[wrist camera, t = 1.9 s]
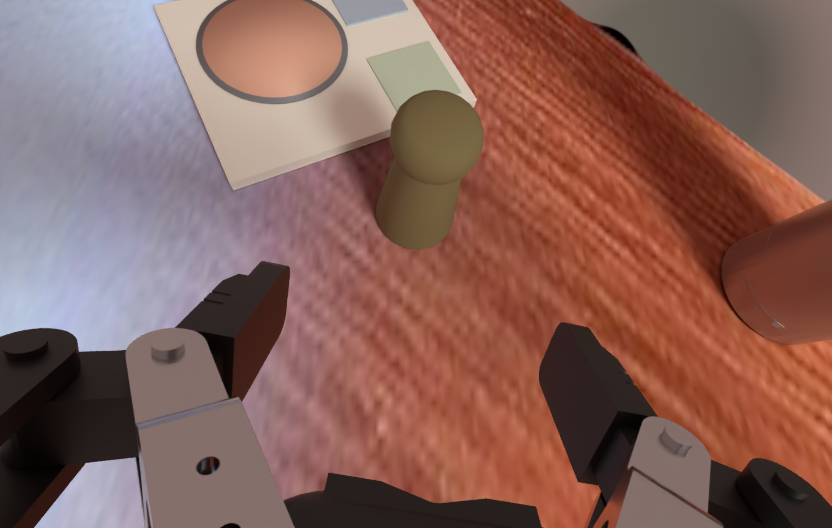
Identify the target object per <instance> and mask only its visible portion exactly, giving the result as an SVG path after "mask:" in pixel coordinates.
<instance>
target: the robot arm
mask: <svg viewBox="0 0 832 528" xmlns="http://www.w3.org/2000/svg"><path fill="white" fill-rule="evenodd" d="M721 270H722V282H723V286H724V290H725V292H726V295H727V297H728V299H729V302H730V303H731V305H732V306H733V308H734V310H735V311H736V313H737V314H738V315H739V316H740V317H741V318H742V320H743V321H744V322H745V323H746V324H747V325H748V326H750V327H751V328H752V329H753V330H754V331H756V332H757V333H759V334H760V335H762V336H764V337H765V338H767V339H770V340H772V341H775V342H777V343H782V344H788V345H794V344H804V343H811V342H818V341H825V340H832V199H831V200H829V201H827V202H824V203H822V204H820V205H817V206H815V207H813V208H811V209H808V210H806V211H804V212H801V213H799V214H797V215H795V216H792V217H790V218H787V219H785V220H783V221H780V222H778V223H776V224H774V225H771V226H769V227H767V228H765V229H762V230H760V231H758V232H756V233H753V234H751V235H749V236H746V237H744V238H742V239H740V240H738V241H736V242H735V243H733V244H732V245H731V246H730V247H729V248H728V250H727V252H726V253H725V255H724V257H723V262H722V267H721ZM289 279H290V268H289V266H285V265H280V264H275V263H270V262H265V261H261V262H260V263H259V264H258V265H257V266H256V268H255V269H254V270H253V271H252V272H251V273H250V274H249V275H248V276H247V275H242V274H237V275H235V276H232V277H230V278H228V279H225V280H223V281H222V282H221V283H220V284H219V285H218V286H217V287H216V288H215V289H214V290H213V291H212V293H210V294H209V295H208V296H207V297H206V298H204V301H201V302H200V303H199V304H198V305H197V306H196V307H195V308H194V309H193V310H192V311H191V312H190V313H189V314H188V315H187V316H186V317H185V318H184V319H183V320H182V321H181V322H180V323H179V324H178V325H177V326H176V327H175V328H168V329H161V330H156V331H152V332H149V333H147V334H144V335H142V336H140V337H138V338H137V339H136V340H134V341H133V342H132V343H131V344H130V345H129V346H128V348H127V350H121V351H89V352H79V350H78V343H77V339H76V337H75V336H74V335H73V334H71V333H69V332H67V331H64V330H59V329H52V328H38V329H29V330H23V331H18V332H14V333H11V334H7V335H4V336H2V337H0V528H34V527H35V526H36V524H37V523H38V522H39V521H40V520H41V518H42V517H43V516H44V515H45V513H46V512H47V511H48V510H49V508H50V507H51V506H52V505H53V503H54V502H55V501H56V500H57V498H58V497H59V496H60V495H61V493H62V492H63V491H64V490H65V488H66V487H67V486H68V485H69V483H70V482H71V481H72V480H73V478H74V477H75V476H76V475H77V473H78V472H79V471H80V470H81V468H82V467H83V466H84V465H85V463H89V462H98V461H107V460H115V459H124V458H133V457H135V462H136V469H137V476H138V483H139V491H140V498H141V505H142V513H143V520H144V527H145V528H543V527H541V524H540V520H539V516H538V512H537V509H536V507H535V506H529V505H523V504H516V503H510V502H504V501H498V500H492V499H478V500H468V501H458V502H448V503H432V502H429V501H427V500H424V499H422V498H420V497H417V496H415V495H413V494H410V493H408V492H405V491H403V490H401V489H398V488H396V487H394V486H391V485H389V484H386V483H384V482H382V481H376V480H370V479H364V478H358V477H352V476H346V475H340V474H334V473H328V478H327V482H326V486H325V490H324V491H315V492H310V493H305V494H300V495H297V496H295V497H292V498H289V499H286V500H284V501H283V499H282V497H281V494H280V492H279V489H278V487H277V485H276V482H275V480H274V477H273V475H272V473H271V470H270V468H269V466H268V463H267V461H266V458H265V456H264V454H263V451H262V449H261V447H260V444H259V442H258V439H257V437H256V435H255V432H254V430H253V427H252V425H251V423H250V420H249V418H248V416H247V413H246V411H245V408H244V406H243V404H242V401H243V399H244V397H245V396H246V394H247V392H248V390H249V388H250V387H251V385H252V383H253V381H254V380H255V378H256V376H257V374H258V373H259V371H260V369H261V367H262V365H263V364H264V362H265V360H266V358H267V357H268V355H269V353H270V351H271V349H272V348H273V346H274V344H275V342H276V341H277V339H278V337H279V335H280V333H281V331H282V328H283V325H284V321H285V316H286V308H287V298H288V288H289ZM539 382H540V386H541V388H542V391H543V394H544V396H545V399H546V401H547V404H548V406H549V409H550V411H551V414H552V417H553V419H554V422H555V424H556V427H557V429H558V432H559V434H560V437H561V440H562V442H563V445H564V447H565V450H566V452H567V455H568V457H569V460H570V463H571V465H572V468H573V470H574V473H575V475H576V478H577V480H578V482H581V483H587V484H593V485H599V487H600V490H601V491H600V493H599V494H598V496H597V498H596V499H595V501H594V504H593V506H592V509H591V511H590V514H589V517H588V519H587V522H586V524H585V527H584V528H832V506H831V505H830V504H829V503H828V502H827V501H826V500H825V499H824V498H823V497H822V496H821V494H820V493H819V492H818V491H817V490H816V489H815V488H813V487H812V486H811V485H810V484H809V483H808V482H806V481H805V480H804V479H803V478H801V477H800V476H798V475H797V474H795V473H794V472H792V471H791V470H789V469H787V468H785V467H783V466H781V465H779V464H777V463H775V462H772V461H770V460H766V459H761V458H755V459H752V460H751V461H750V462H749V463H748V465H747V466H746V467H745V468H744V470H743V471H742V472H740V471H737V470H735V469H733V468H730V467H728V466H725V465H723V464H720V463H718V462H715V461H713V460H711V458H710V455H709V453H708V451H707V449H706V448H705V447H704V445H703V444H702V443H701V442H700V441H699V440H698V439H697V438H696V437H695V436H694V435H693V434H691V433H690V432H689V431H687V430H686V429H685V428H683V427H681V426H680V425H678V424H676V423H674V422H672V421H669V420H667V419H664V418H660V417H658V416H657V415H656V413H655V412H654V410H653V409H652V408H651V406H650V405H649V403H648V402H647V400H646V399H645V398H644V396H643V395H642V393H641V392H640V391H639V389H638V388H637V386H636V385H634V382H633V381H632V379H631V378H630V376H629V375H628V374H626V371H625V369H624V368H623V367H622V365H621V364H620V362H619V361H618V359H616V358H615V357H614V356H613V355H612V354H611V353H609V352H608V351H607V350H606V349H605V348H604V347H602V346H601V345H600V343H599V342H598V340H597V339H596V337H595V336H594V334H593V333H592V332H591V330H590V329H589V328H588V327H584V326H579V325H574V324H569V323H564V322H562V323H560V324H559V325H558V326H557V328H556V330H555V332H554V335H553V337H552V339H551V342H550V344H549V346H548V349H547V351H546V353H545V356H544V358H543V360H542V363H541V365H540V370H539Z"/></svg>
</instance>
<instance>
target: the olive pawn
mask: <svg viewBox="0 0 832 528" xmlns="http://www.w3.org/2000/svg"><path fill="white" fill-rule="evenodd" d="M390 145H391V149H392V152H393V156H394V159H393V161H392V164H391V166H390V169H389V172H388V174H387V177H386V180H385V182H384V185H383V187H382V190H381V193H380V195H379V198H378V201H377V203H376V212H375V215H376V219H377V223H378V226H379V228H380V229H381V231H382V232H383V234H384V235H385V236H386V237H387V238H388V239H389V240H391V241H392V242H393V243H394V244H397V245H399V246H402V247H404V248H407V249H417V250H419V249H424V248H429V247H432V246H434V245H436V244H437V243H439V242H441V241H442V240H443V239H444V237H445V236H446V235H447V234H448V233H449V230H450V228H451V225H452V222H453V218H454V213H455V208H456V203H457V198H458V193H459V188H460V184H461V179H462V178H463V177H464V176H465V175H466V174H467V173H468V172H469V171H470V170H471V169H472V168H473V167H474V166H475V164H476V162H477V160H478V158H479V156H480V153H481V151H482V148H483V127H482V124H481V121H480V119H479V116H478V114H477V112H476V111H475V110H474V108H473V107H472V106H471V105H470V103H468V102H467V101H466V100H464V99H463V98H462V97H460V96H458V95H456V94H453V93H451V92H448V91H441V90H429V91H423V92H421V93H418V94H416V95H414V96H412V97H410V98H409V99H408V100H407V101H405V102H404V103H403V104H402V105H401V106H400V107H399V109H398V111H397V113H396V115H395V117H394V119H393V121H392V123H391V132H390Z"/></svg>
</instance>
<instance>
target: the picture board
mask: <svg viewBox="0 0 832 528" xmlns="http://www.w3.org/2000/svg"><path fill="white" fill-rule="evenodd" d="M154 8H155V10H156V13H157V15H158V17H159V20H160V22H161V24H162V27H163V29H164V32H165V34H166V36H167V39H168V41H169V43H170V46H171V48H172V50H173V53H174V55H175V57H176V60H177V62H178V64H179V67H180V69H181V71H182V74H183V76H184V78H185V81H186V83H187V85H188V88H189V90H190V92H191V95H192V97H193V99H194V102H195V104H196V106H197V109H198V111H199V113H200V116H201V118H202V120H203V123H204V125H205V127H206V130H207V132H208V134H209V137H210V139H211V141H212V144H213V146H214V148H215V151H216V153H217V155H218V158H219V160H220V162H221V165H222V167H223V169H224V172H225V174H226V176H227V179H228V181H229V183H230V185H231V187H232V189H233V191H234V190H237V189H240V188H243V187H246V186H249V185H252V184H254V183H257V182H260V181H263V180H266V179H269V178H272V177H275V176H278V175H281V174H283V173H286V172H289V171H292V170H295V169H298V168H301V167H304V166H307V165H309V164H312V163H315V162H318V161H321V160H324V159H327V158H330V157H333V156H336V155H338V154H341V153H344V152H347V151H350V150H353V149H356V148H359V147H362V146H365V145H367V144H370V143H373V142H376V141H379V140H382V139H385V138H388V137H390V132H391V123H392V121H393V119H394V117H395V115H396V113H397V111H398V109H399V107H400V106H401V105H402V104H403V103H404V102H405V101H407V100H408V99H409V98H410V97H412V96H414V95H416V94H418V93H421V92H423V91H429V90H441V91H448V92H451V93H453V94H456V95H458V96H460V97H462V98H463V99H464V100H466V101H467V102H468V103H470V105H471V106H472V107H473V108H474V106H475V103H476V101H477V99H476V98H475V96H474V94H473V93H472V91H471V90H470V88H469V87H468V85H467V84H466V82H465V81H464V79H463V78H462V76H461V74H460V73H459V71H458V70H457V68H456V67H455V65H454V64H453V62H452V61H451V59H450V58H449V56H448V54H447V53H446V51H445V50H444V48H443V47H442V45H441V44H440V42H439V41H438V39H437V37H436V36H435V34H434V33H433V31H432V30H431V28H430V27H429V25H428V24H427V22H426V21H425V19H424V17H423V16H422V14H421V13H420V11H419V10H418V8H417V7H416V5H415V4H414V2H413V1H412V0H179V1H174V2H170V3H165V4H160V5H155V6H154Z"/></svg>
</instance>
